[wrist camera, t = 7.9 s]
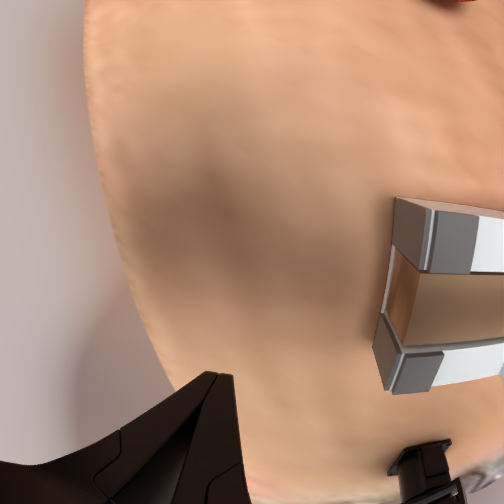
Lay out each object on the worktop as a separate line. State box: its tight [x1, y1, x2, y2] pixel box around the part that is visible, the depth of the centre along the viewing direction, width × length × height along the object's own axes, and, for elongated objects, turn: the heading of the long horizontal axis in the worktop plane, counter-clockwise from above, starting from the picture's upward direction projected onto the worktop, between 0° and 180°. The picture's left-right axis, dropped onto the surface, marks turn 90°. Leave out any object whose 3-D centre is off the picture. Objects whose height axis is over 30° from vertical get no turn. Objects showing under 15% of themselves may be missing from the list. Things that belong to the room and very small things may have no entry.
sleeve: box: [372, 197, 504, 395], centre depth 12 cm, size 10×14×6 cm
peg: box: [386, 249, 504, 346], centre depth 13 cm, size 4×10×4 cm, turn 91°
